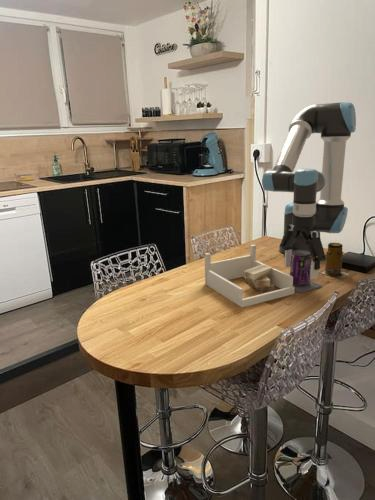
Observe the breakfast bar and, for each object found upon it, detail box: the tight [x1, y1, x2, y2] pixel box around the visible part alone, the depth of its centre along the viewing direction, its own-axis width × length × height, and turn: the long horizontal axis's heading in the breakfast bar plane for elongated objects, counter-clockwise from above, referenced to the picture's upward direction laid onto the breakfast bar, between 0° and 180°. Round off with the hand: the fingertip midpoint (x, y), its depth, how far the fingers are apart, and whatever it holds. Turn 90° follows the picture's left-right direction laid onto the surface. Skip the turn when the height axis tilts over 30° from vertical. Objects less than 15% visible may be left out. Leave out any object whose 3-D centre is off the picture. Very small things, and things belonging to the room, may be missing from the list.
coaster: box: [293, 280, 323, 294], centre depth 140 cm, size 11×11×1 cm
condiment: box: [320, 242, 350, 279], centre depth 149 cm, size 7×8×12 cm
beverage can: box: [289, 250, 312, 286], centre depth 139 cm, size 7×7×12 cm
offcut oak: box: [252, 276, 270, 287], centre depth 140 cm, size 5×11×2 cm, turn 4°
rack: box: [204, 244, 295, 308], centre depth 137 cm, size 22×24×12 cm
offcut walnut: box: [245, 278, 275, 294], centre depth 141 cm, size 5×12×2 cm, turn 20°
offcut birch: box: [243, 264, 273, 281], centre depth 139 cm, size 5×10×2 cm, turn 129°
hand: (300, 272), depth 139 cm, fingers open, 13 cm apart
